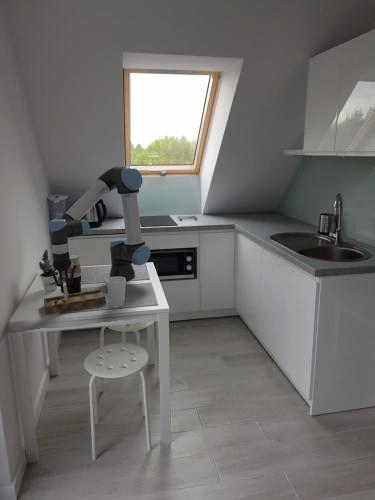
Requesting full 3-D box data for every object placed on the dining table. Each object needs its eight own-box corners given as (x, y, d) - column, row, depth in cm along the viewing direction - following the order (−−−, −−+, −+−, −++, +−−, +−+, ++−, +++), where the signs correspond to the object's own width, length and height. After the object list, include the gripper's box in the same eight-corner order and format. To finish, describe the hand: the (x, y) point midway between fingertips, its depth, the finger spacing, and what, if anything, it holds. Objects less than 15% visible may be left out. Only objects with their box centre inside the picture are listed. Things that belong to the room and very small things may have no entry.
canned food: (64, 273, 243) (62, 254, 240) (83, 272, 243) (81, 253, 240) (60, 279, 232) (57, 259, 229) (79, 278, 232) (77, 258, 229)
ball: (63, 298, 190) (55, 300, 189) (64, 301, 187) (56, 302, 186) (63, 305, 191) (56, 306, 190) (64, 308, 188) (57, 309, 187)
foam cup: (118, 309, 184) (116, 284, 181) (104, 306, 189) (101, 280, 186) (131, 303, 192) (129, 278, 189) (117, 299, 197) (115, 275, 194)
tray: (100, 295, 203) (100, 289, 202) (105, 303, 192) (105, 296, 191) (44, 305, 192) (43, 298, 191) (46, 314, 181) (45, 307, 180)
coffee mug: (78, 296, 203) (76, 278, 200) (63, 295, 205) (61, 277, 202) (88, 288, 214) (86, 271, 211) (73, 288, 216) (71, 270, 213)
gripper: (73, 248, 189) (78, 293, 195) (45, 252, 185) (51, 298, 190) (76, 252, 183) (81, 298, 189) (46, 255, 178) (53, 303, 184)
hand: (66, 298), depth 190 cm, fingers closed
